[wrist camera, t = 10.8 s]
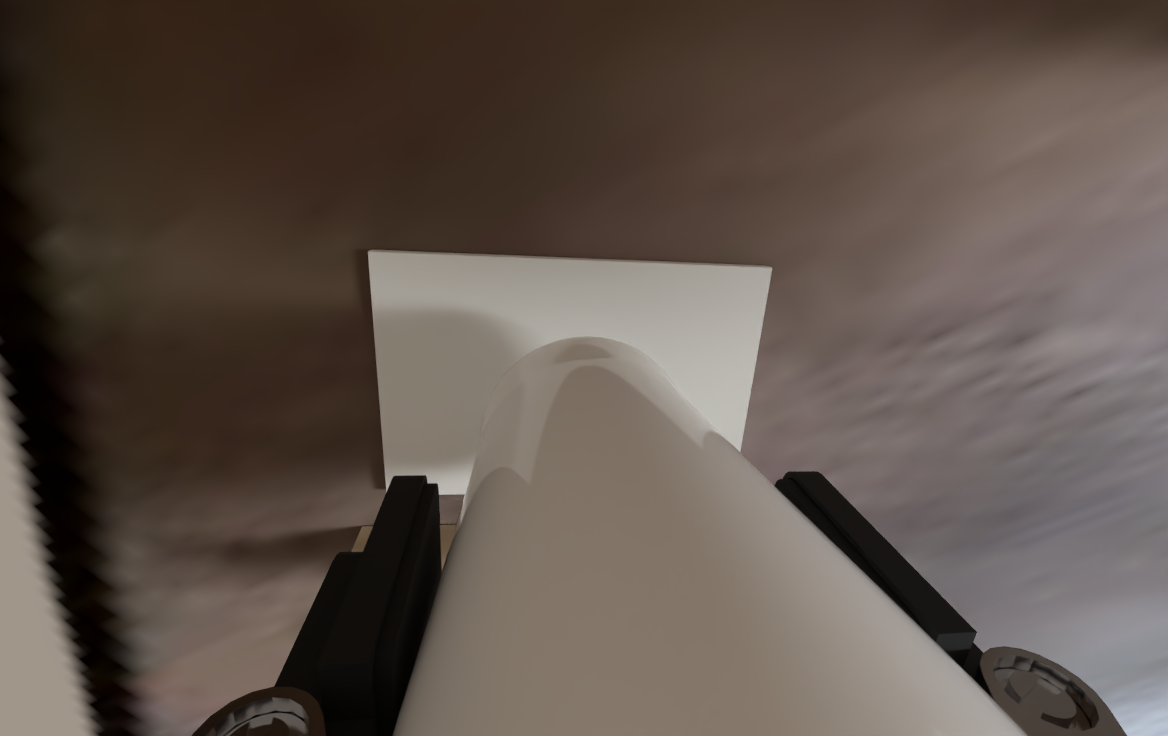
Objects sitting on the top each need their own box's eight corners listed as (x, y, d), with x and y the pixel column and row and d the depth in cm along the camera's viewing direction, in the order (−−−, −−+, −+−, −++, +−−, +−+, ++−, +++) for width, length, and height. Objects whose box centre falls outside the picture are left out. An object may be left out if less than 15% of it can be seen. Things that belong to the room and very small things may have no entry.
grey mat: (371, 249, 16) (367, 251, 15) (766, 265, 17) (772, 267, 17) (389, 488, 19) (386, 495, 18) (729, 484, 20) (733, 490, 20)
